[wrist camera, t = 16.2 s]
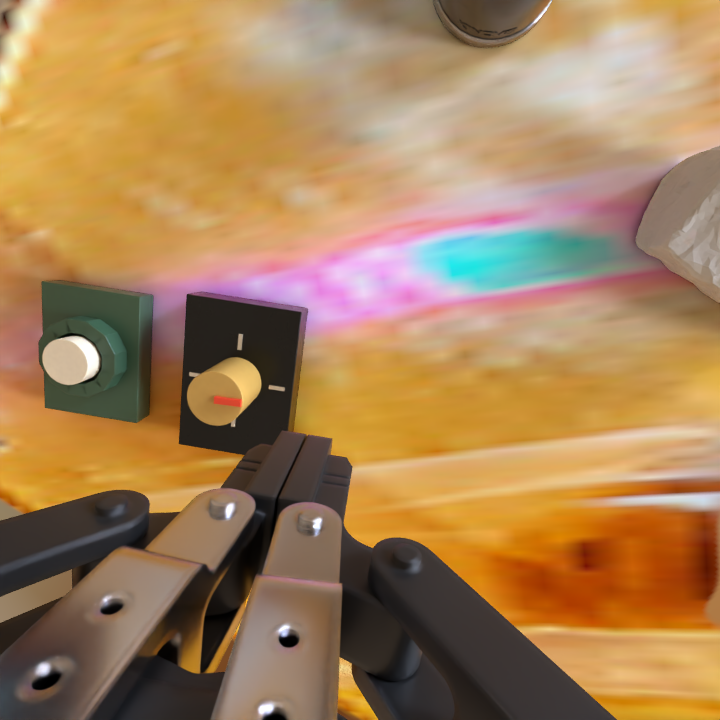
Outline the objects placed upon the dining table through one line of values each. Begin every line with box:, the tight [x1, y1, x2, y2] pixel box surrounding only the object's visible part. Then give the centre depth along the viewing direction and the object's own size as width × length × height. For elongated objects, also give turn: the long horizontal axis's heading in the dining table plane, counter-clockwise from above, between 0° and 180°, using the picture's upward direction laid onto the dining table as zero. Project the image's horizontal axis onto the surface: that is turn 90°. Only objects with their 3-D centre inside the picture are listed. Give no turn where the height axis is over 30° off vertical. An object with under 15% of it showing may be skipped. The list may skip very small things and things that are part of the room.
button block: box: [39, 280, 153, 423], centre depth 39 cm, size 12×9×4 cm
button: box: [42, 336, 101, 385], centre depth 36 cm, size 4×4×2 cm
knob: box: [187, 357, 261, 426], centre depth 35 cm, size 4×4×5 cm
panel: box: [179, 292, 308, 455], centre depth 39 cm, size 14×10×3 cm
